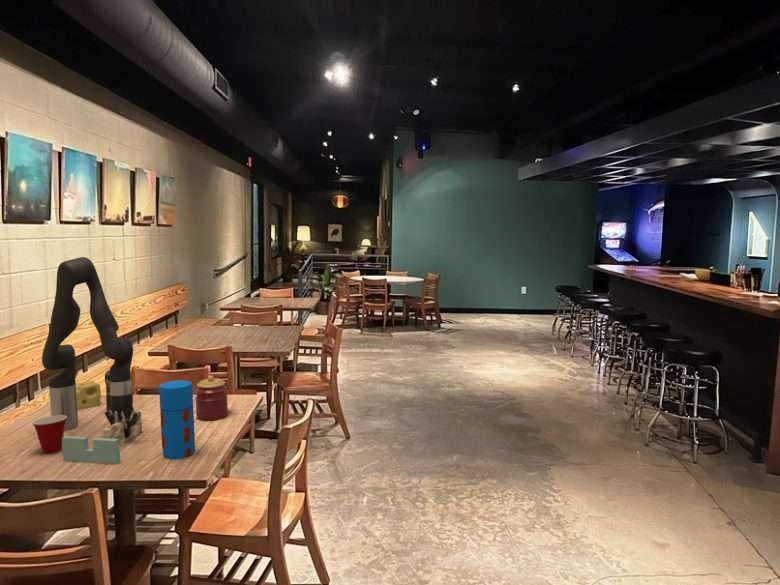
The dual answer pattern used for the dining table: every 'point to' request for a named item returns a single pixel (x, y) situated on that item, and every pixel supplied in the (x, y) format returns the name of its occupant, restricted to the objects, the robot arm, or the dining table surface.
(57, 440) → the plastic cup
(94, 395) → the cheese
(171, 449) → the thermos
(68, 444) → the sage green notched block
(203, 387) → the canister
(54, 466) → the dining table surface
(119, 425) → the brass bar
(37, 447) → the dining table surface
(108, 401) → the coffee jar
